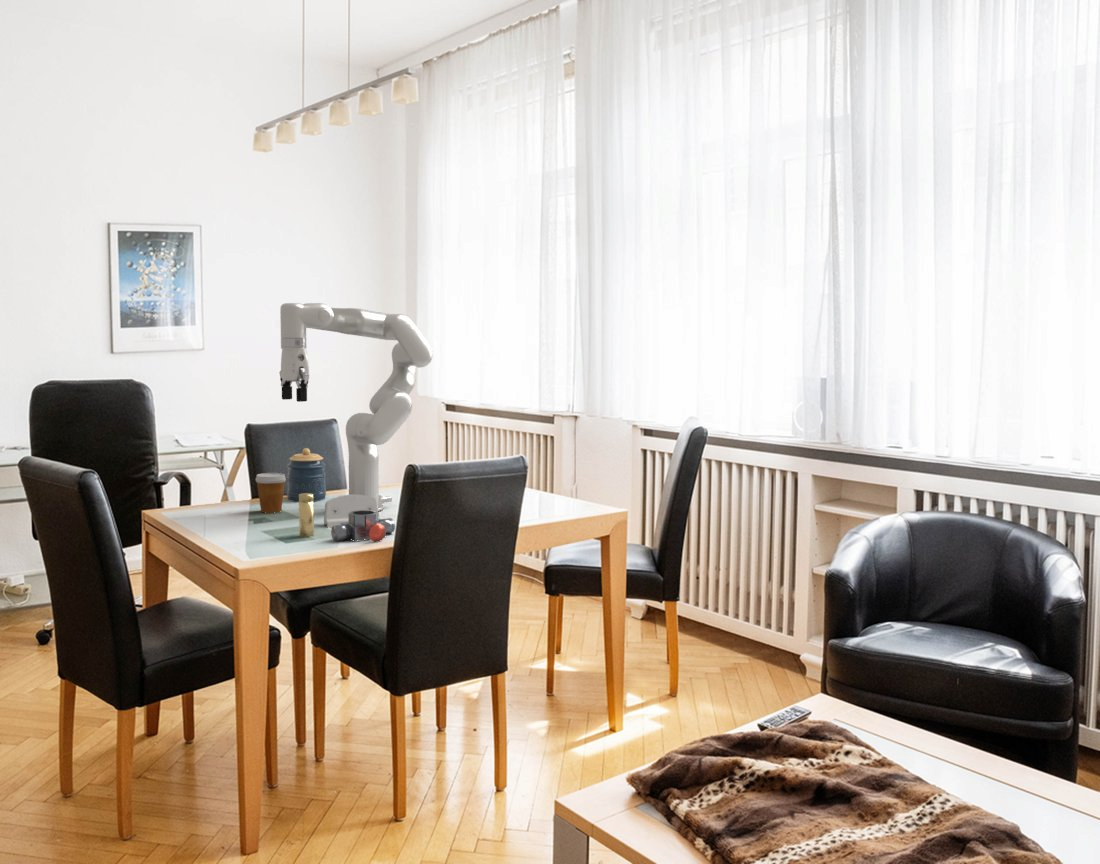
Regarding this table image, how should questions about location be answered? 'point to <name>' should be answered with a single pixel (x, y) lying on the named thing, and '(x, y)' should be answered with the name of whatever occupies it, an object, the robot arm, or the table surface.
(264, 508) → the disposable coffee cup
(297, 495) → the canister
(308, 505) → the brass cylinder
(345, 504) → the white slotted block
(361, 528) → the valve body
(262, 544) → the table surface
